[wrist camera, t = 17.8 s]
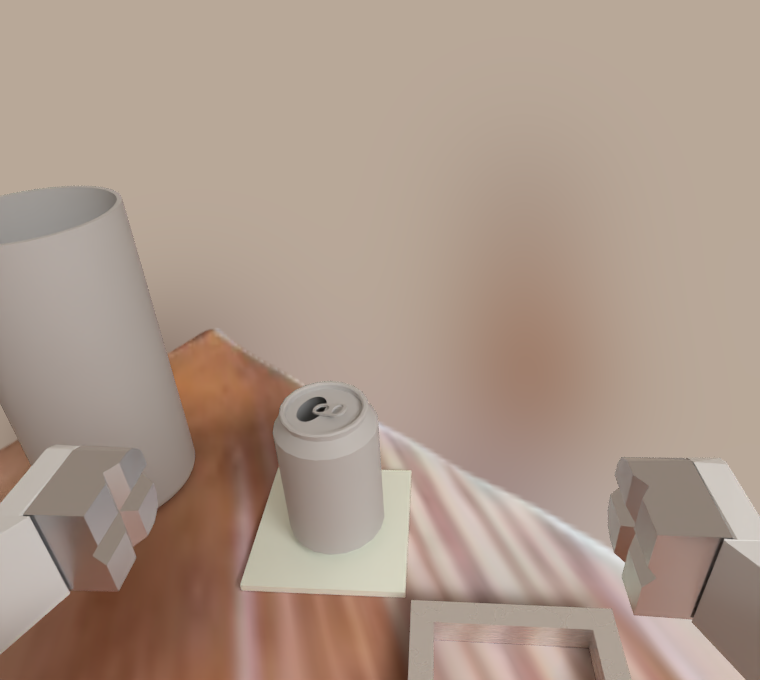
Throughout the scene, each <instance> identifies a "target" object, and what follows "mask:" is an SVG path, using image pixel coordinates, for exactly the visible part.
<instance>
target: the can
mask: <svg viewBox="0 0 760 680" xmlns="http://www.w3.org/2000/svg"><path fill="white" fill-rule="evenodd" d="M273 437H274V443H275V448H276V453H277V458H278V463H279V469H280V474H281V479H282V484H283V489H284V495H285V500H286V505H287V510H288V516H289V521H290V526H291V528H292V531H293V534H294V537H295V538H296V539H297V540H298V541H299V542H300V543H301V544H302V545H303V546H305V547H306V548H308V549H310V550H312V551H314V552H318V553H323V554H329V555H331V554H343V553H348V552H350V551H353V550H356V549H359V548H361V547H362V546H364V545H365V544H367V543H368V542H369V541H371V540H372V539H373V538H374V537H375V535H376V534H377V533H378V531H379V530H380V529H381V526H382V523H383V520H384V504H383V489H382V473H381V458H380V443H379V428H378V416H377V413H376V411H375V410H374V408H373V407H372V405H371V404H369V403H368V400H367V398H366V397H365V395H364V393H363V392H362V391H360V390H359V389H357V388H356V387H355V386H352V385H349V384H346V383H343V382H335V381H324V382H316V383H312V384H308V385H305V386H303V387H301V388H299V389H297V390H295V391H293V392H292V393H291V394H290V395H289V396H287V397H286V398H285V399H284V401H283V403H282V404H281V406H280V410H279V415H278V417H277V419H276V420H275V422H274V427H273Z"/></svg>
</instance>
